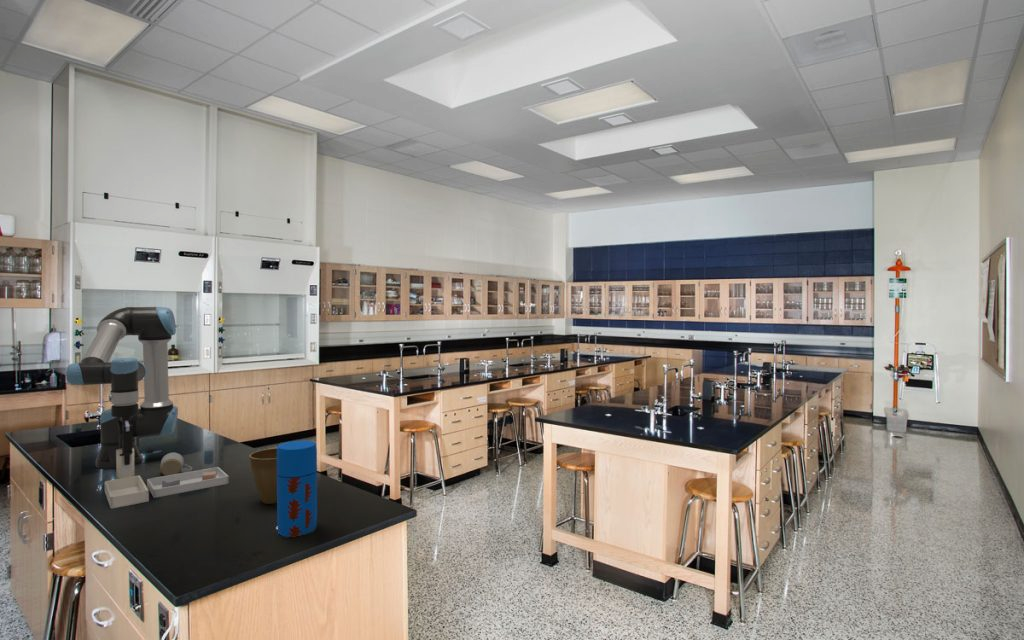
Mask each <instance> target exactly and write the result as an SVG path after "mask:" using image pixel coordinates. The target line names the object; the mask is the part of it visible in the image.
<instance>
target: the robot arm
mask: <svg viewBox="0 0 1024 640" xmlns="http://www.w3.org/2000/svg"><path fill="white" fill-rule="evenodd" d="M176 332H177V323H176V319H175V315H174V312H173V311H172V309H171V308H170V307H165V306H164V307H163V306H144V307H143V306H141V307H140V306H134V307H133V306H126V307H122V308H118V309H116V310H114V311H112V312H109V314H106V316H104V317H103V318H102V319H101V320H100V322H99V323H98V324H97V327H96V335H95V336H94V338H93V340H92V341H91V343H90V346H89V347H88V349H87V350H86V352H85V354H84V356H83V358H82V359H81V361H80V362H76V363H74V362H73V363H70V364H69V365H68V366H67V367H66V373H65V377H66V381H67V383H68V384H69V385H72V386H88V385H92V386H93V385H111V387H110V388H111V389H110V393H111V394H110V395H109V396H108V398H109V399H110V400H111V401H110V402H111V404H112V405H111V408H108V409H106V410H103V411H102V412H101V413H100V420H99V421H100V422H99V425H100V428H99V429H100V430H99V431H100V447H99V450H98V453H97V457H96V459H95V467H96V469H105V470H106V469H107V470H110V469H116V450H117V449H121V448H122V454H120V456H122V475H126V474H132V453H133V451H132V448H134V465H136V464H138V463H140V462H141V460H142V459H141V458H142V457H141V456H142V455H141V453H140V450H139V448H138V445H137V444H136V442H137V441H136V438H140V437H154V436H155V437H156V436H159V437H161V436H166V435H171V434H173V432H175V428H176V425H177V421H178V413H179V412H178V411H179V410H178V409H179V408H178V406H176V405H175V406H174V402H173V401H172V400H171V399H170V397H169V394H170V393H169V355H168V353H169V352H168V343H169V342H170V341H171V340H172V336H174V335H176ZM126 336H137V338H138V341H139V342H140V343H141V344H142V355H143V356H142V360H143V361H142V362H141V361H139V360H138V359H137V358H135V357H119V358H114V359H112V360H111V358H112V356H113V355H114V352H115V350H116V348H117V346H118V345H119V342H120V340H122V339H124V338H125V337H126ZM110 360H111V361H110ZM109 361H110V362H109ZM142 380H143V390H144V391H143V392H144V393H143V394H144V395H143V396H144V400H143V402H142V403H141V404H139V403H138V402H139V382H140V381H142ZM139 405H140V408H139Z"/></svg>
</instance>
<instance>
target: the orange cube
mask: <svg viewBox="0 0 1024 640" xmlns="http://www.w3.org/2000/svg"><path fill="white" fill-rule="evenodd" d="M214 478H216V471H214V472H204V473H203V475H202V481H203V480H208V479H214Z"/></svg>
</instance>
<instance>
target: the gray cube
mask: <svg viewBox="0 0 1024 640" xmlns="http://www.w3.org/2000/svg"><path fill="white" fill-rule="evenodd" d="M175 485H180V480H179V479H177V478H171V479H167V480H162V488H164V487H170V486H175Z"/></svg>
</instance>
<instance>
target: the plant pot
mask: <svg viewBox="0 0 1024 640" xmlns="http://www.w3.org/2000/svg"><path fill="white" fill-rule="evenodd" d="M249 460H250V467H251V472H252V477H253V481H254V483H255V487H256V490H257V493H258V495H259V497H260V500H261V502H262V503H263V504H269V505H272V504H277V447H276V448H269V449H261V450H258V451H254V452H252V453H250V454H249Z"/></svg>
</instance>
